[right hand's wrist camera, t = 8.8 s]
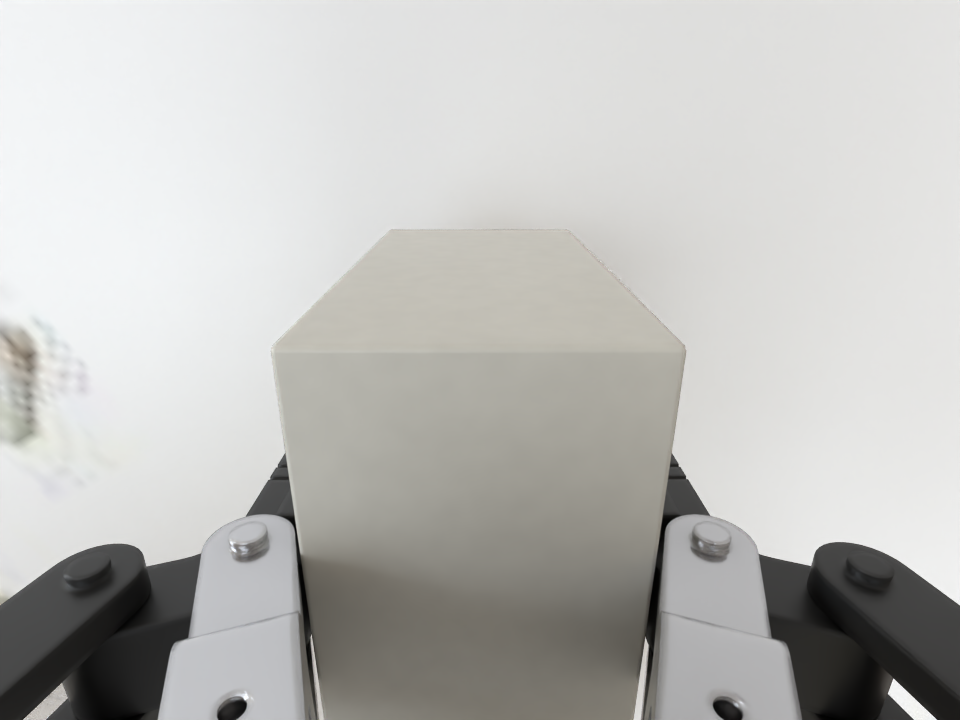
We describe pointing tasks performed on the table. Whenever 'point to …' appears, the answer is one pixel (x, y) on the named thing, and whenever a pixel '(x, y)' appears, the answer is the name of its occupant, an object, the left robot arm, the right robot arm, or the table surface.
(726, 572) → the right robot arm
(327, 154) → the table surface
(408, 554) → the bar
